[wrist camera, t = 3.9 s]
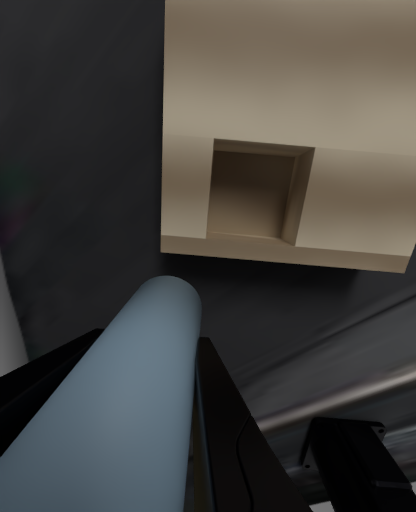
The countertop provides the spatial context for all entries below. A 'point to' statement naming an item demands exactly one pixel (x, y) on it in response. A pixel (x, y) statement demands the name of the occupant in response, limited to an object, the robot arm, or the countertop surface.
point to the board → (290, 131)
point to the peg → (116, 416)
